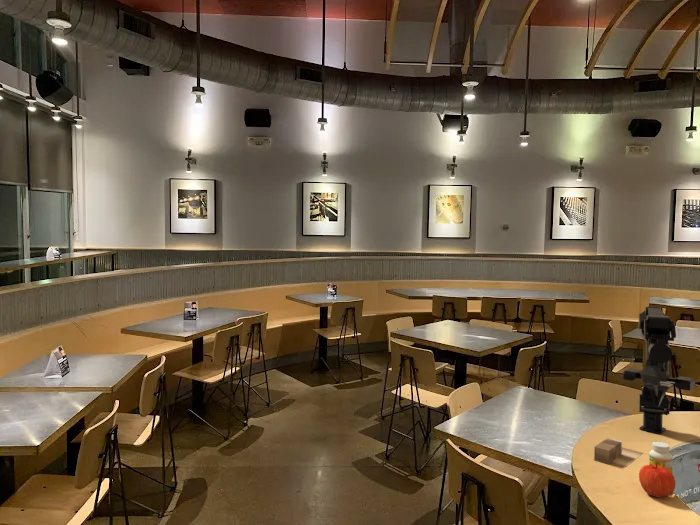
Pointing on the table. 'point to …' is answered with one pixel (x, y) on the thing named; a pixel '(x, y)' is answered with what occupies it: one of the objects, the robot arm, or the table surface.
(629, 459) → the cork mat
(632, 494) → the table surface
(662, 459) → the supplement bottle
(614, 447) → the walnut block
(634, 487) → the table surface
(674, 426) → the table surface
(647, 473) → the apple
